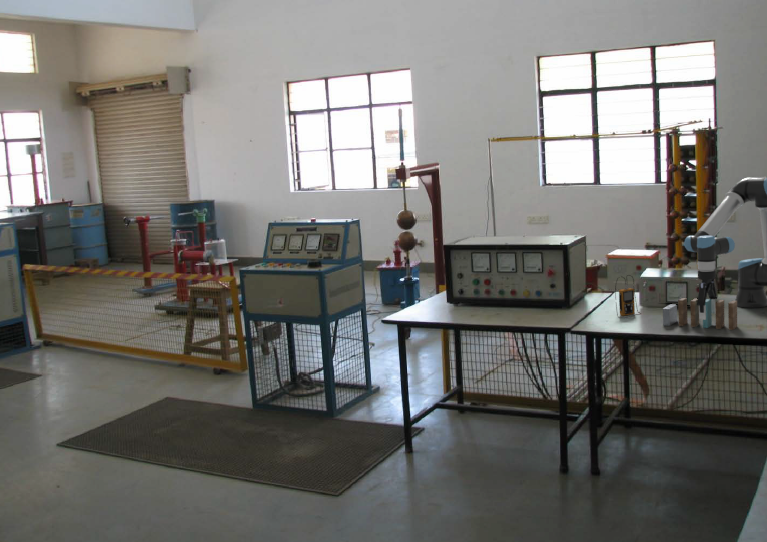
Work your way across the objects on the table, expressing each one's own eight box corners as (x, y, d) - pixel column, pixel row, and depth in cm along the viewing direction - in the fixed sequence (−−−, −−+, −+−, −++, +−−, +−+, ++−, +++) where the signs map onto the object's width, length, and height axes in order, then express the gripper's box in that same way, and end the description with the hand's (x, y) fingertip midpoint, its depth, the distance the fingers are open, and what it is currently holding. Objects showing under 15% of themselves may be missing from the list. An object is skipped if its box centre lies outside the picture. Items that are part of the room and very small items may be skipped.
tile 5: (687, 323, 368) (687, 297, 366) (683, 325, 364) (682, 300, 362) (683, 322, 369) (682, 297, 368) (678, 325, 365) (678, 300, 363)
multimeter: (626, 320, 383) (625, 279, 380) (613, 316, 393) (612, 277, 390) (651, 315, 389) (649, 275, 386) (637, 312, 398) (636, 273, 395)
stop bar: (677, 321, 373) (676, 304, 372) (669, 325, 366) (669, 309, 364) (670, 320, 375) (670, 304, 374) (663, 325, 367) (662, 308, 366)
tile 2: (724, 325, 358) (724, 300, 356) (720, 328, 353) (720, 302, 351) (719, 325, 359) (719, 299, 357) (715, 328, 354) (715, 302, 352)
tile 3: (711, 325, 361) (711, 299, 359) (707, 327, 357) (707, 301, 355) (707, 324, 362) (706, 299, 360) (703, 327, 358) (702, 301, 356)
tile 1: (737, 326, 354) (737, 300, 352) (733, 329, 350) (733, 303, 348) (732, 326, 355) (732, 300, 353) (728, 329, 351) (728, 303, 349)
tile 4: (699, 324, 365) (699, 298, 363) (695, 326, 360) (694, 301, 358) (695, 323, 366) (694, 298, 364) (690, 326, 361) (690, 300, 359)
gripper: (706, 265, 367) (707, 309, 370) (688, 274, 348) (689, 321, 352) (723, 265, 362) (724, 311, 366) (706, 275, 344) (707, 322, 347)
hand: (707, 316), depth 359 cm, fingers open, 13 cm apart
